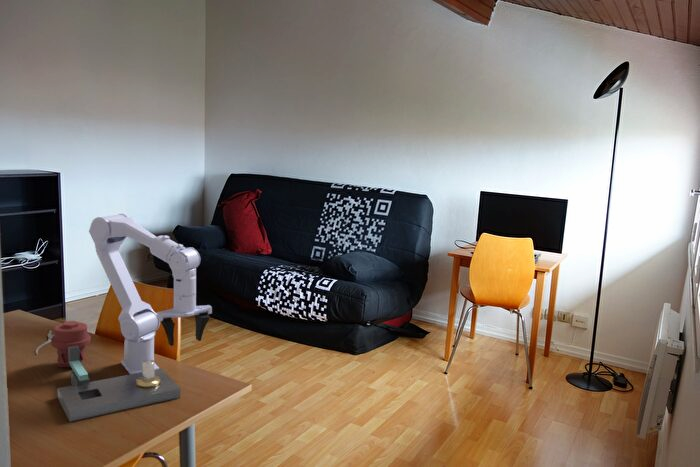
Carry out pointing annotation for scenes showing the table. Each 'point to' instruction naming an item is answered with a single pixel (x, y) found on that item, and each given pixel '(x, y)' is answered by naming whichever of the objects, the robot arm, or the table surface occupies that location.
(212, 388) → the table surface
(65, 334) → the mechanical component
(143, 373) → the gold disc with post
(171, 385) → the block
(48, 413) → the table surface
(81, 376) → the locking bolt
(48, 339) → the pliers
